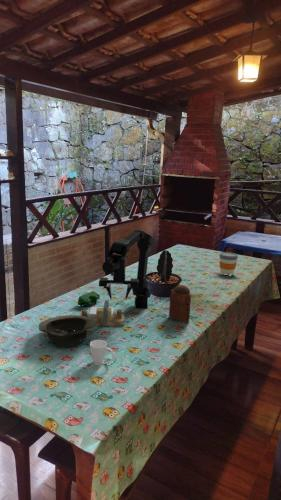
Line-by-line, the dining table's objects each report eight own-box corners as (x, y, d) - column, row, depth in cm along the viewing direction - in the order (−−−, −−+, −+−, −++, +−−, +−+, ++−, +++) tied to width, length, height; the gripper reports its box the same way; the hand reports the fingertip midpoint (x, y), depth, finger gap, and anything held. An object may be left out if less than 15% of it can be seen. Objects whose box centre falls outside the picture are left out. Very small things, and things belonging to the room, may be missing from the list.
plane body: (124, 319, 183) (124, 308, 181) (124, 325, 176) (124, 314, 175) (80, 318, 182) (80, 306, 181) (78, 324, 175) (78, 312, 174)
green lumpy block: (86, 314, 197) (84, 303, 191) (78, 309, 200) (76, 298, 194) (101, 301, 204) (100, 290, 198) (94, 296, 207) (92, 285, 201)
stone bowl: (70, 358, 145) (68, 336, 143) (27, 344, 159) (24, 324, 157) (107, 334, 166) (106, 314, 164) (66, 323, 179) (65, 305, 177)
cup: (94, 356, 148) (94, 337, 146) (117, 361, 145) (117, 343, 143) (86, 364, 142) (86, 345, 140) (109, 370, 138) (109, 351, 137)
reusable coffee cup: (238, 273, 265) (240, 253, 261) (232, 278, 255) (234, 257, 251) (221, 270, 272) (223, 251, 268) (215, 274, 261) (217, 254, 258)
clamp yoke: (108, 316, 184) (108, 300, 182) (106, 326, 174) (107, 308, 172) (104, 316, 184) (105, 300, 182) (103, 326, 174) (103, 308, 172)
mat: (113, 308, 195) (113, 307, 195) (112, 315, 187) (112, 314, 186) (91, 308, 195) (91, 307, 195) (89, 315, 186) (89, 313, 186)
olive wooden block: (111, 315, 181) (111, 308, 180) (110, 319, 177) (110, 311, 176) (97, 315, 180) (97, 307, 179) (96, 318, 177) (96, 311, 176)
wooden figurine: (192, 319, 186) (195, 286, 182) (187, 324, 181) (190, 289, 176) (171, 314, 192) (173, 281, 187) (166, 318, 186) (168, 284, 182)
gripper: (138, 264, 181) (137, 293, 185) (101, 262, 180) (100, 292, 184) (139, 270, 170) (137, 302, 174) (98, 269, 170) (98, 301, 173)
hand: (118, 299), depth 177 cm, fingers open, 7 cm apart
